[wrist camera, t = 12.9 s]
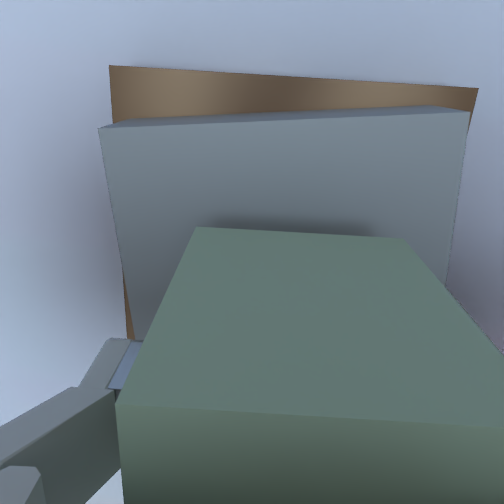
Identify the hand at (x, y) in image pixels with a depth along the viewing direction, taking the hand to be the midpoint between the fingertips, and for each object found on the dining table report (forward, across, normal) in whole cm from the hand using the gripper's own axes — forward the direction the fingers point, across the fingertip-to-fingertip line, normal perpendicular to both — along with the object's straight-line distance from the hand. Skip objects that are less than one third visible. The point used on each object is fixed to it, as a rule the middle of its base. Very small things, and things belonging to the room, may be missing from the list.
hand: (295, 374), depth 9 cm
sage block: (+2, 0, 0) cm, 2 cm away
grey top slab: (+7, 0, 0) cm, 7 cm away
